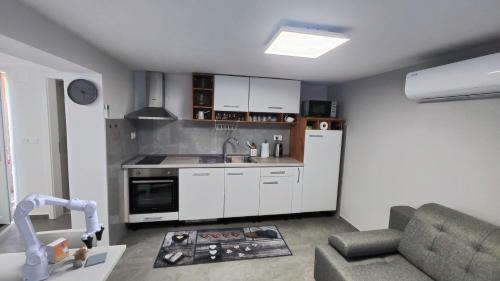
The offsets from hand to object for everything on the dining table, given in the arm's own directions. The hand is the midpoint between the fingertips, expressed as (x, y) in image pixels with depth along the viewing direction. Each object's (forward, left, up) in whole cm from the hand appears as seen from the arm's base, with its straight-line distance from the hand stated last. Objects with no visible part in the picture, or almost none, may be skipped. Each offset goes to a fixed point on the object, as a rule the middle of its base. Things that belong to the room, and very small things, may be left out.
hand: (94, 244), depth 127 cm
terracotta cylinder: (-8, +12, -10) cm, 18 cm away
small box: (-20, +12, -10) cm, 26 cm away
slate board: (0, 0, -10) cm, 10 cm away
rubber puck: (-8, -2, -10) cm, 13 cm away
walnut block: (-8, +5, -10) cm, 14 cm away
